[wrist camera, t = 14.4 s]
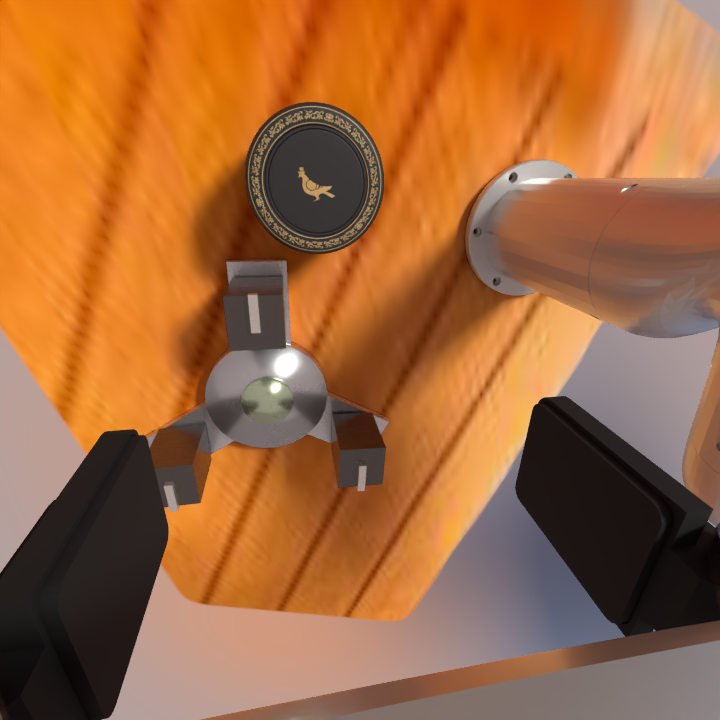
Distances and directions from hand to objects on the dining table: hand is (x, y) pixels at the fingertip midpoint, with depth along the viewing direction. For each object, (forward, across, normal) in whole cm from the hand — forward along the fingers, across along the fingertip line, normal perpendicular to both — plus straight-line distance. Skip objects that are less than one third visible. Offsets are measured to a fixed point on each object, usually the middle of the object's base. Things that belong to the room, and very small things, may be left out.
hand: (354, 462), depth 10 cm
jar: (+31, -1, -6) cm, 31 cm away
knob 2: (+29, +4, +4) cm, 30 cm away
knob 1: (+29, +13, +19) cm, 37 cm away
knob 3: (+29, -5, +19) cm, 35 cm away
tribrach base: (+30, +4, +12) cm, 33 cm away
